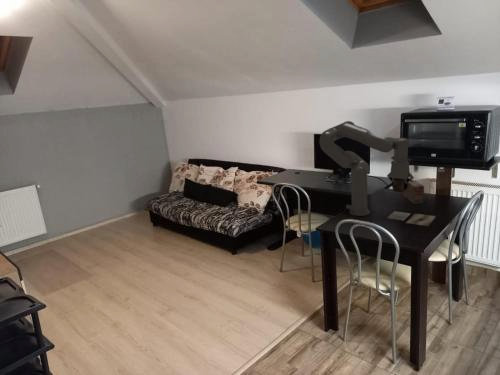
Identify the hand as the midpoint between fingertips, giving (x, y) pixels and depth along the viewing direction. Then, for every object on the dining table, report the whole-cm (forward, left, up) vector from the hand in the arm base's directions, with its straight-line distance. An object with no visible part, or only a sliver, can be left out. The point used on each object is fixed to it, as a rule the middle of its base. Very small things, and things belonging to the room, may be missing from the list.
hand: (399, 188), depth 229 cm
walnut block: (0, 0, -1) cm, 1 cm away
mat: (0, 0, -17) cm, 17 cm away
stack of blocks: (-3, +37, -18) cm, 41 cm away
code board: (+13, -1, -17) cm, 22 cm away
